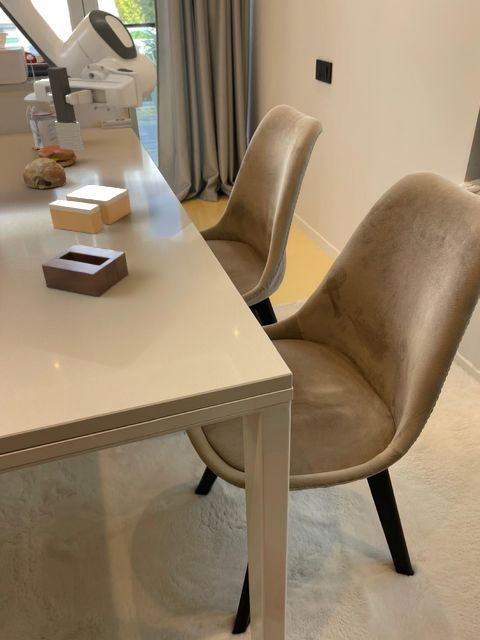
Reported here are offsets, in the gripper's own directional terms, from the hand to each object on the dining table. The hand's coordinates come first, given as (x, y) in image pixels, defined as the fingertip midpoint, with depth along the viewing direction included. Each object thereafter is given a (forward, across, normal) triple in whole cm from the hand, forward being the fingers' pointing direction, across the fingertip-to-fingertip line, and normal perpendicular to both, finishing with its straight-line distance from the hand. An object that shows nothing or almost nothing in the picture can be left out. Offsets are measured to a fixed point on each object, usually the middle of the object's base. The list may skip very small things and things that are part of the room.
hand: (59, 99), depth 101 cm
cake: (-7, -1, +24) cm, 25 cm away
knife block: (+20, +15, +24) cm, 35 cm away
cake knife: (-1, 0, +9) cm, 9 cm away
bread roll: (-22, -27, +25) cm, 43 cm away
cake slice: (+1, -1, +24) cm, 24 cm away
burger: (-38, -36, +25) cm, 57 cm away
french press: (-52, -51, +25) cm, 77 cm away
